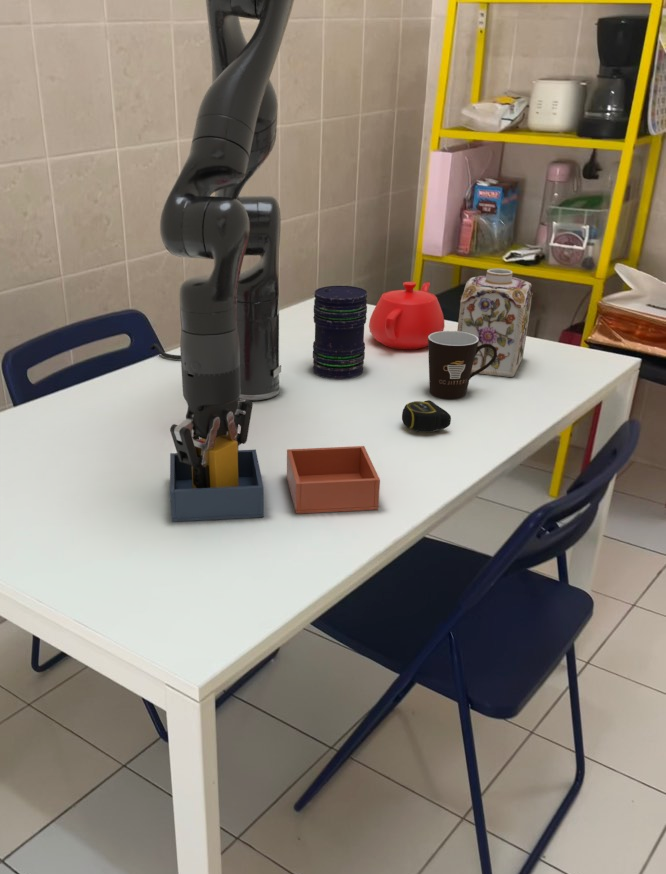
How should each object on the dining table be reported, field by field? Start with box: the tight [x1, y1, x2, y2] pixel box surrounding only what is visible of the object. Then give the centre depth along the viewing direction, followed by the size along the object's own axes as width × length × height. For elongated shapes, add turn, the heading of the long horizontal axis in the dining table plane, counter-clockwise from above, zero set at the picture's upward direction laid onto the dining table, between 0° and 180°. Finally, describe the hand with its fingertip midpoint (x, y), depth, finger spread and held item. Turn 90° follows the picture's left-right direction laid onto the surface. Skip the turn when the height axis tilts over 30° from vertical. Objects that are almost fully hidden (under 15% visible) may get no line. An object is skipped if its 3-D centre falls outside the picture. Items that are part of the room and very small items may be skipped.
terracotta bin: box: [286, 445, 381, 515], centre depth 122 cm, size 11×11×4 cm
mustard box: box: [192, 437, 239, 489], centre depth 119 cm, size 4×4×8 cm
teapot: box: [368, 281, 446, 350], centre depth 181 cm, size 25×16×12 cm, turn 153°
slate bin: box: [169, 449, 265, 523], centre depth 121 cm, size 12×12×4 cm
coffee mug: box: [427, 330, 497, 400], centre depth 154 cm, size 12×9×10 cm
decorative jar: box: [456, 268, 534, 378], centre depth 165 cm, size 12×12×18 cm
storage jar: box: [312, 285, 368, 380], centre depth 164 cm, size 10×10×15 cm
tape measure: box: [401, 399, 452, 433], centre depth 142 cm, size 7×7×4 cm
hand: (215, 481), depth 120 cm, fingers closed on mustard box, 4 cm apart
